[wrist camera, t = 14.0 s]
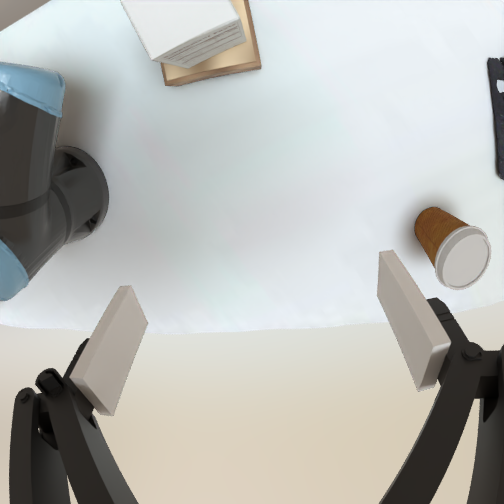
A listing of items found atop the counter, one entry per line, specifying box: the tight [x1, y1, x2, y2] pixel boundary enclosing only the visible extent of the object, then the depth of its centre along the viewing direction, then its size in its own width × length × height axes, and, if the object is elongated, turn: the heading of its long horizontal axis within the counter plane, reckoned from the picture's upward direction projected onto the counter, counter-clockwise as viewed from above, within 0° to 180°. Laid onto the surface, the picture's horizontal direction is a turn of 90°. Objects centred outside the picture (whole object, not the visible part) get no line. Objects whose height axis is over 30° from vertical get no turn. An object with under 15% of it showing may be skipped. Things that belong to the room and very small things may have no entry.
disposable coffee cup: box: [415, 207, 491, 290], centre depth 39 cm, size 10×10×12 cm
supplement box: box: [120, 0, 247, 69], centre depth 22 cm, size 7×7×13 cm
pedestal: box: [161, 0, 261, 86], centre depth 30 cm, size 11×11×6 cm
